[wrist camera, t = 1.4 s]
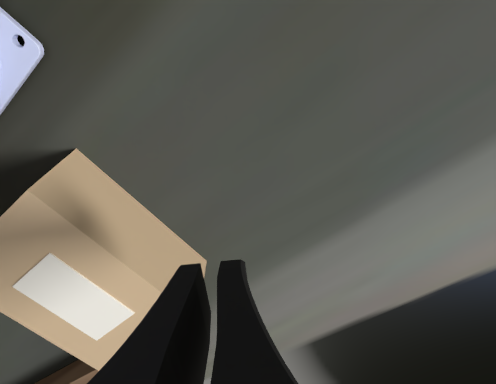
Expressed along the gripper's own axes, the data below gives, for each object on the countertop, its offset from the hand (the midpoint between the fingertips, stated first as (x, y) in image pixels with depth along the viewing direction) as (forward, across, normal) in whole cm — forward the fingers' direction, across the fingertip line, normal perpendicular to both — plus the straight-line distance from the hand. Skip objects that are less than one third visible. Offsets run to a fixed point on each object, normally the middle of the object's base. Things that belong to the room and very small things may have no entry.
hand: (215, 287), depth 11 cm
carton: (+10, +8, +4) cm, 13 cm away
